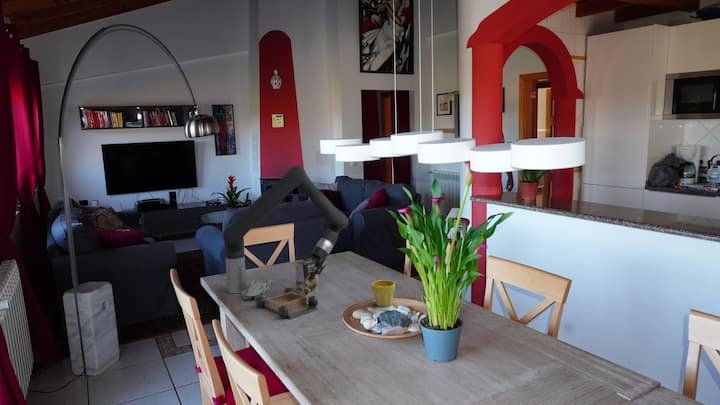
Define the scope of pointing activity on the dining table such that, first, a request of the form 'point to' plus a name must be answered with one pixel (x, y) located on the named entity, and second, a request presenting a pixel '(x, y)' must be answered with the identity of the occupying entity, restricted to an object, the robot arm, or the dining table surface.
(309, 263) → the coffee box
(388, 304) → the plant pot
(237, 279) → the robot arm
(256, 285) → the car model
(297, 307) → the chassis
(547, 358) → the dining table surface
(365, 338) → the dining table surface
